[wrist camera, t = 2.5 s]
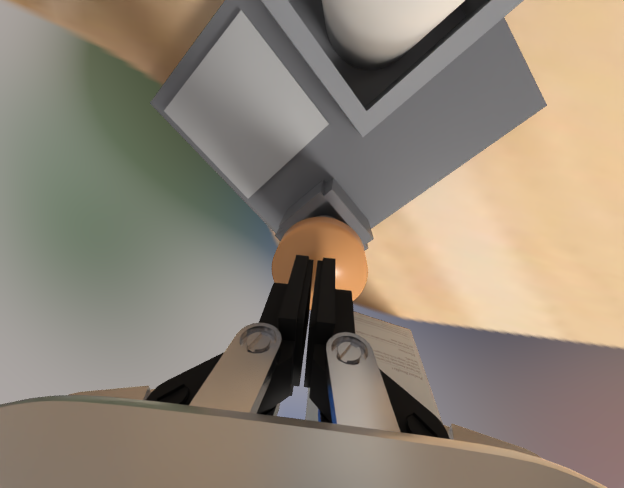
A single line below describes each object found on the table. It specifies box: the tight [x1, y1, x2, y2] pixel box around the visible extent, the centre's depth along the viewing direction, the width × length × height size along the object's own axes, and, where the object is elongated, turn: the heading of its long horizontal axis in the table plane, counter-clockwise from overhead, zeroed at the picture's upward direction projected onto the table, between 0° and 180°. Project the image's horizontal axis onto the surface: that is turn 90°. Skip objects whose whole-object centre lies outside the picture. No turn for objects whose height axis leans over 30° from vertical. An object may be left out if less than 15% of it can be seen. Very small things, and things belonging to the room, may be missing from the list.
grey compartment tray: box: [150, 0, 547, 251], centre depth 15 cm, size 17×15×5 cm
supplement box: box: [305, 312, 443, 424], centre depth 20 cm, size 7×7×13 cm
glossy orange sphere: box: [272, 215, 368, 310], centre depth 14 cm, size 4×4×4 cm
